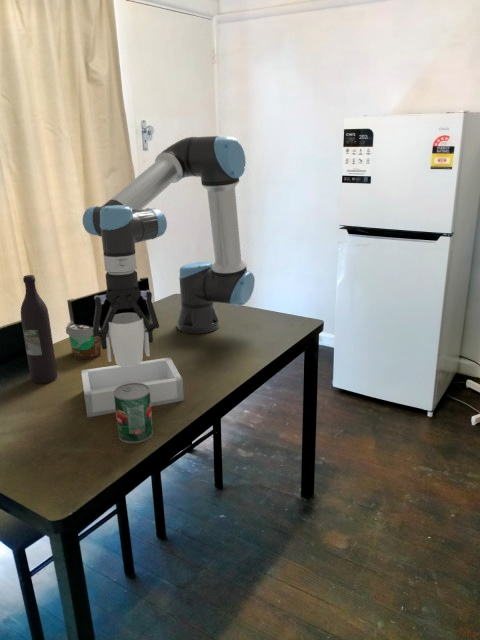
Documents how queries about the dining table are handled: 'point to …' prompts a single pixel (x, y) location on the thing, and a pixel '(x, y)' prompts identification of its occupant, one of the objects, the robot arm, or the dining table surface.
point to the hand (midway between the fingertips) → (128, 357)
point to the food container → (83, 341)
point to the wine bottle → (37, 335)
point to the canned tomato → (133, 412)
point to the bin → (151, 373)
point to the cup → (127, 339)
